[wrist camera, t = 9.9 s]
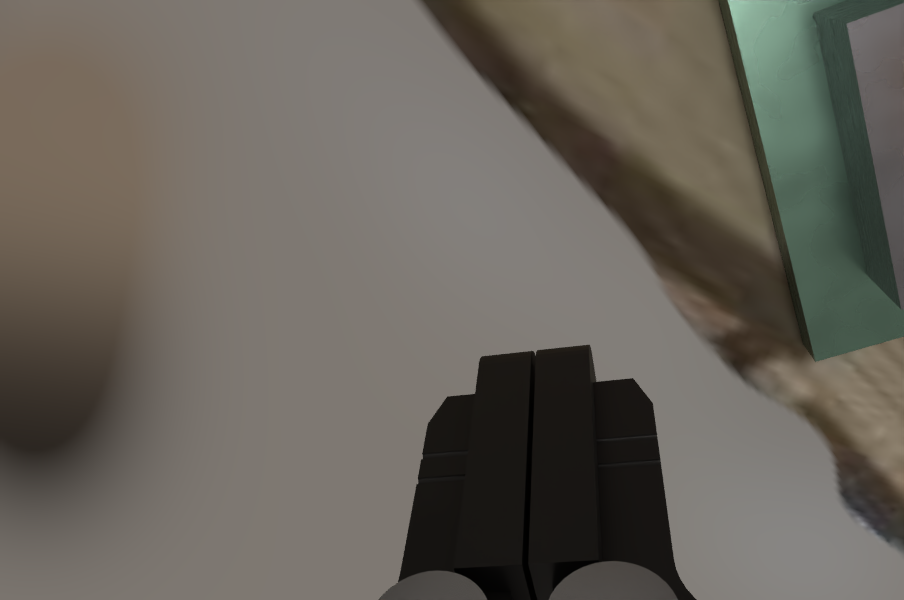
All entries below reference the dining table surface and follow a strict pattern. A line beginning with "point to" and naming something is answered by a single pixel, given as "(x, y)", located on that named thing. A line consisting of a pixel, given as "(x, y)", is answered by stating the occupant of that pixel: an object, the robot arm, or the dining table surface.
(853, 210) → the green tiered platform
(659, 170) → the dining table surface
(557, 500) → the robot arm
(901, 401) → the dining table surface
